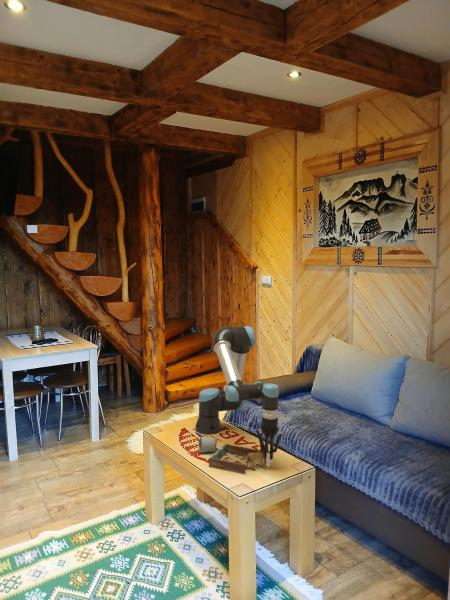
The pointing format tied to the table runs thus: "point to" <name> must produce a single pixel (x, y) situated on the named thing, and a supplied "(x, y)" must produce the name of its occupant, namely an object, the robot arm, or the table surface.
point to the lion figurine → (256, 458)
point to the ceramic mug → (207, 444)
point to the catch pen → (227, 465)
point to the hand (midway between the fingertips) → (268, 465)
